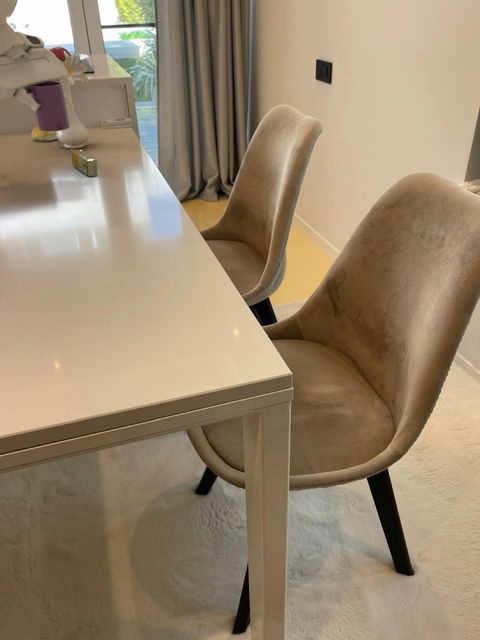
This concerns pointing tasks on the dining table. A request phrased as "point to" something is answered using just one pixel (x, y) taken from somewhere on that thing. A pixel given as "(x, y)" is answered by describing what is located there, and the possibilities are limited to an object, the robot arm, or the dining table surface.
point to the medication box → (84, 162)
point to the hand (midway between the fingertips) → (52, 105)
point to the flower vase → (77, 130)
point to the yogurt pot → (50, 106)
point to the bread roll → (44, 135)
